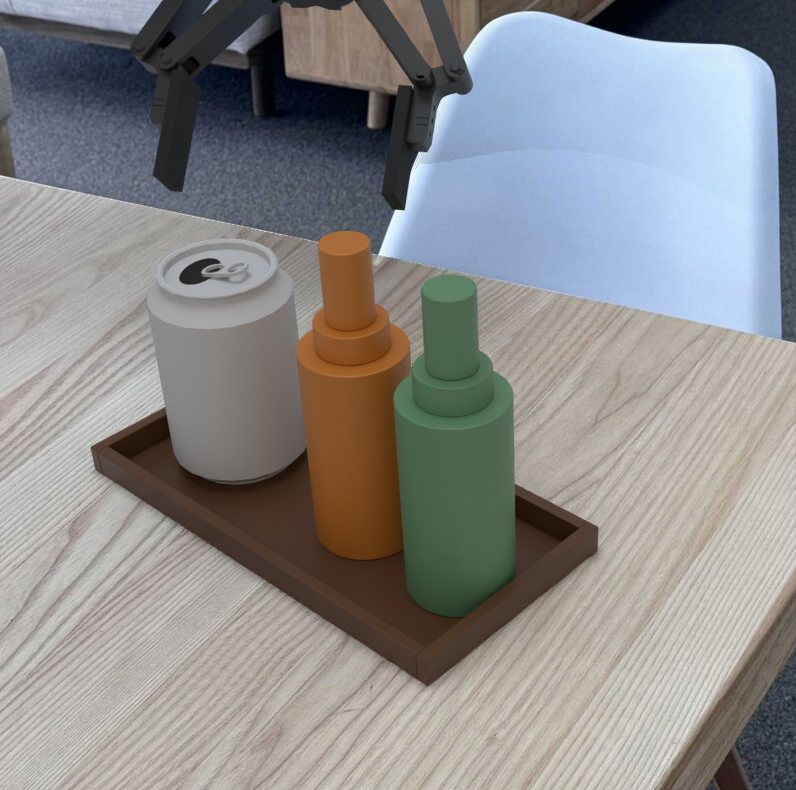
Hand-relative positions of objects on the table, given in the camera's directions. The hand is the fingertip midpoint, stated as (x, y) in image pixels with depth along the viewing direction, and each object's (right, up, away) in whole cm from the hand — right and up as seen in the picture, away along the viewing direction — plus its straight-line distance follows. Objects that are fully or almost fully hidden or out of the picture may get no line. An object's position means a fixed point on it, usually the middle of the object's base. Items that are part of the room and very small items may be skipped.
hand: (278, 193), depth 80 cm
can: (-2, -15, -2) cm, 15 cm away
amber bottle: (+6, -18, -8) cm, 21 cm away
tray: (+4, -18, -6) cm, 20 cm away
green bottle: (+11, -21, -12) cm, 26 cm away
